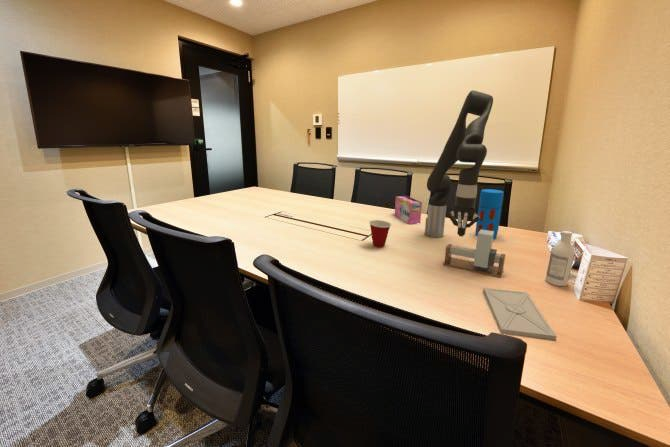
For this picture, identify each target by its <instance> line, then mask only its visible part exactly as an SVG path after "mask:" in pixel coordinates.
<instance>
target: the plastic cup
mask: <svg viewBox="0 0 670 447" xmlns="http://www.w3.org/2000/svg"><path fill="white" fill-rule="evenodd" d="M368 223H369V226H370V232H371V240H372V245H373V247H374V248H384V247H385V245H386V243H387V239H388V234H389V230H390V228H391V226H392V222H391V223H390V222H389V221H385V220H380V219H373V220H369V222H368Z"/></svg>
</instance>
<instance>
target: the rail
mask: <svg viewBox="0 0 670 447" xmlns="http://www.w3.org/2000/svg"><path fill="white" fill-rule="evenodd" d="M475 251H476V248H469V247H464V246H459V245H454V244H451V243H448V244H447V246H445V254H444V261H443V263H442V265H443V266H445V267H450V268H454V269H459V270H464V271H467V272H473V273H477V274H482V275H487V276H490V277H494V278H495V277H496V278H498V279H499V278H500V279H501V277H502V274H503V272H504V269H505V268H504V266H505V261H506V260H505V259H506V253H497V252H496V254H495V258H494V264H498V266H496V265H493V266H488V267H487V268H483V267H479V266H474V260H473V261H472V260H468V259H474V258H475ZM453 255H454V256H459V257H464V258H468V259H462V258H458V257H453Z"/></svg>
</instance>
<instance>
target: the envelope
mask: <svg viewBox="0 0 670 447" xmlns="http://www.w3.org/2000/svg"><path fill="white" fill-rule="evenodd" d="M482 293H483V296H484V298H485V300H486V302H487V304H488V307H489V308H490V311H491V313H492V316H493V319H494V320H495V323H496V325H497V328H498V330H499V332H500V333H501V334H508V335H515V336H521V337H528V338H529V337H530V338H537V339H544V340H545V339H546V340H551V341H552V340H553V341H556V340H557V337H558V336H557V335H556V333H555V332H554V330H553V328H552V327H551V326H550V324H549V323H548V321H547V320H546V319H545V317H544V315H543V314H542V312H541V311H540V308H538V307H537V305H536V303H535V302H534V301H533V299H532V298H531V296H530V294H529V293H528V292H527V291H518V290H510V289H501V288H491V287H490V288H489V287H483V288H482Z"/></svg>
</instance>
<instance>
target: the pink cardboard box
mask: <svg viewBox="0 0 670 447" xmlns="http://www.w3.org/2000/svg"><path fill="white" fill-rule="evenodd" d="M394 201H395V204H394V216H395V217H397V218H399V219H400V220H401V219H402V221H403V222H404V223H406V224H408V225H417V223H420V224H421V220H422V219H421V217H422V208H423V202H421V201H419V200H418V199H415V198H412V196H411V197H410V196H409V195H405V194H404V195H403V196H397V195H395V200H394Z"/></svg>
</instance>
